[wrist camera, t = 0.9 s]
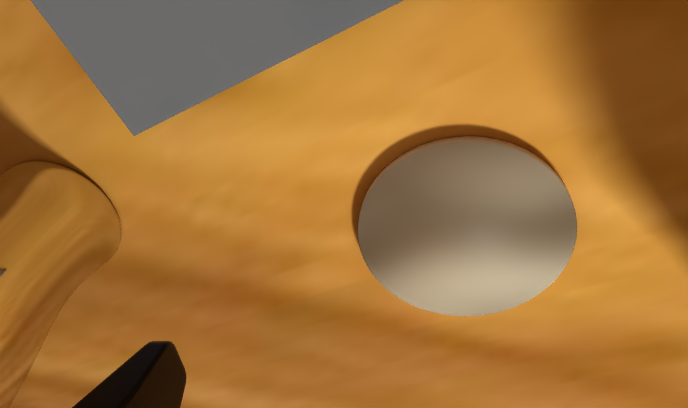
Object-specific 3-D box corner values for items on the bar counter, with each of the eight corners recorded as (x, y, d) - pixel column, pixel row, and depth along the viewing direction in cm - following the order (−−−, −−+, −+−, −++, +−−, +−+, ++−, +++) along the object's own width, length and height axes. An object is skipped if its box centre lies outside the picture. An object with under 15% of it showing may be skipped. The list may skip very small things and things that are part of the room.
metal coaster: (600, 276, 24) (603, 284, 24) (410, 328, 28) (410, 335, 27) (533, 100, 21) (535, 105, 20) (322, 184, 24) (320, 190, 23)
